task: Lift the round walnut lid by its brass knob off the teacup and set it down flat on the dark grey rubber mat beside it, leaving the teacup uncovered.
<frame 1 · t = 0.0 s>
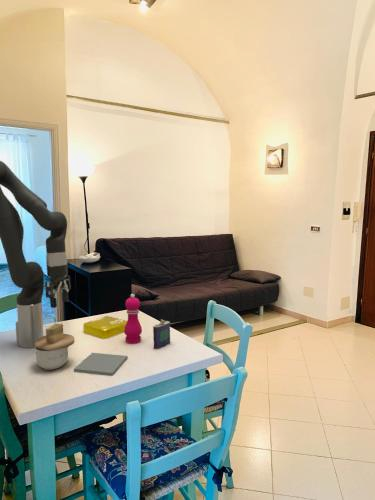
hand: (59, 304, 146), 17 cm above the table, tool pointing down, fingers open, 8 cm apart
flask: (162, 345, 150), on the table
pepper mill: (133, 341, 155), on the table
teacup: (56, 364, 132), on the table, touching lid
lid: (55, 342, 131), point 8 cm above the table, touching teacup
element tile: (106, 332, 167), on the table
mat: (101, 364, 132), on the table
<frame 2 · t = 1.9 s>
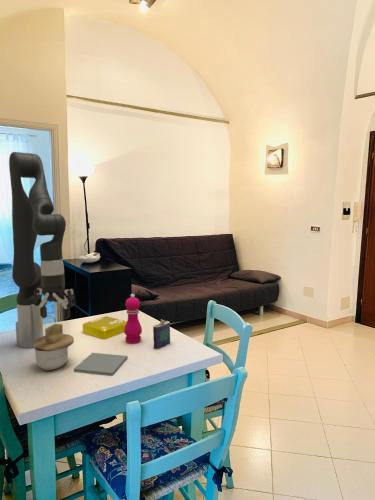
hand: (55, 318, 130), 17 cm above the table, tool pointing down, fingers open, 8 cm apart
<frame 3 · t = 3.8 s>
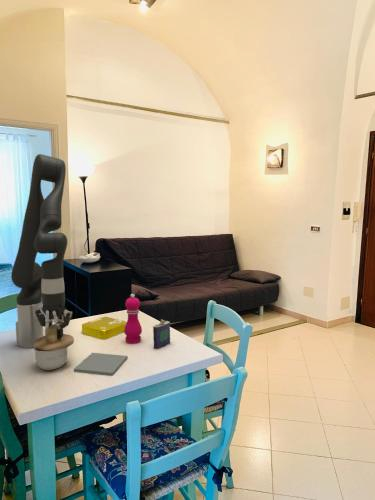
hand: (55, 338, 131), 10 cm above the table, tool pointing down, fingers closed on lid, 3 cm apart
teacup: (55, 365, 132), on the table
lid: (54, 343, 131), point 8 cm above the table, touching gripper
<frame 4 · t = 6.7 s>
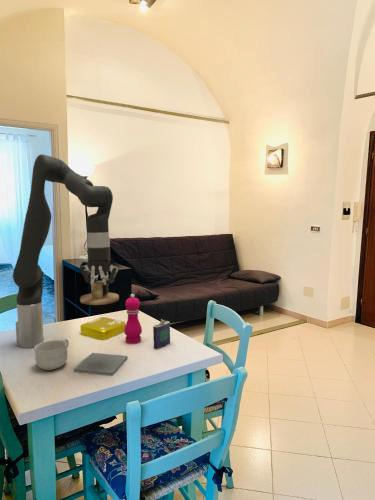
hand: (100, 294, 129), 25 cm above the table, tool pointing down, fingers closed on lid, 3 cm apart
lid: (99, 299, 129), point 24 cm above the table, touching gripper
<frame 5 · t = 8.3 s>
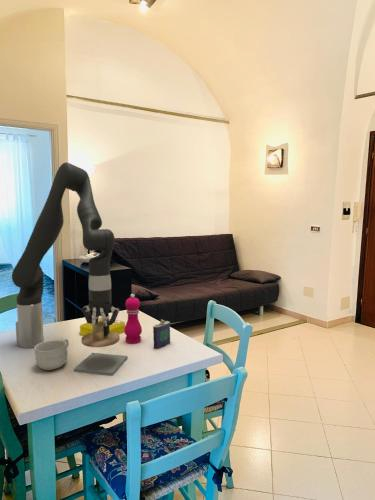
hand: (101, 335, 131), 11 cm above the table, tool pointing down, fingers closed on lid, 3 cm apart
lid: (100, 340, 130), point 9 cm above the table, touching gripper
when the fingers open (5 cm above the table, at t = 9.9 s): lid drops 2 cm, resting on mat.
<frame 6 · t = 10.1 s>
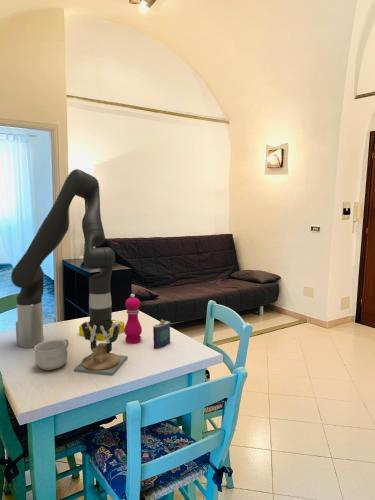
hand: (101, 351, 131), 5 cm above the table, tool pointing down, fingers open, 4 cm apart
lid: (101, 362, 131), point 1 cm above the table, touching mat
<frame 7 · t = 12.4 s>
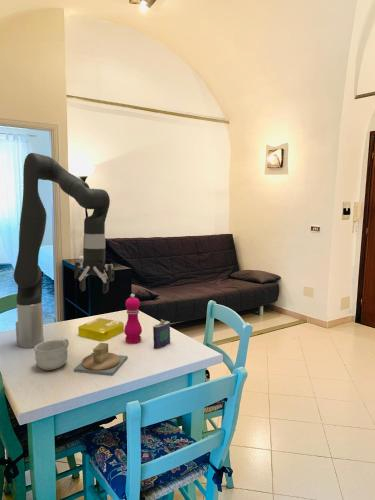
hand: (94, 291, 132), 26 cm above the table, tool pointing down, fingers open, 8 cm apart
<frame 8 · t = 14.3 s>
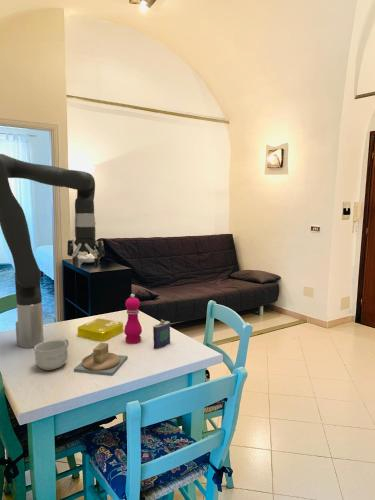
hand: (86, 267, 144), 32 cm above the table, tool pointing down, fingers open, 8 cm apart
at the end: lid inside the target area on the mat (0.3 cm from its centre), point 1.0 cm above the mat's base; the gripper is holding nothing; teacup moved 0.4 cm from its start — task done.
